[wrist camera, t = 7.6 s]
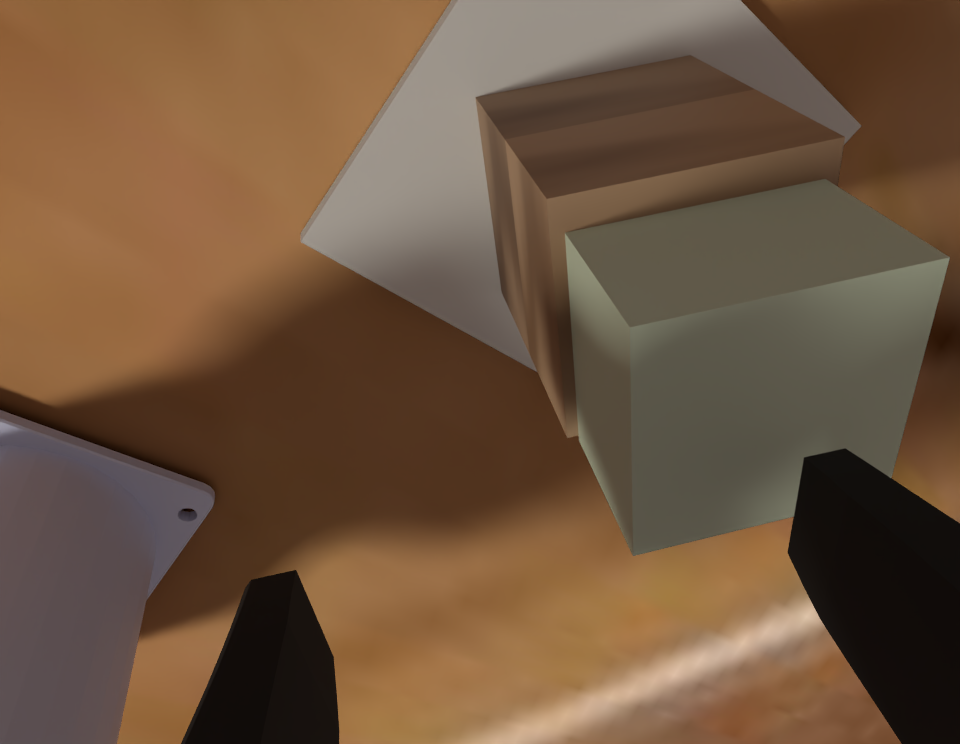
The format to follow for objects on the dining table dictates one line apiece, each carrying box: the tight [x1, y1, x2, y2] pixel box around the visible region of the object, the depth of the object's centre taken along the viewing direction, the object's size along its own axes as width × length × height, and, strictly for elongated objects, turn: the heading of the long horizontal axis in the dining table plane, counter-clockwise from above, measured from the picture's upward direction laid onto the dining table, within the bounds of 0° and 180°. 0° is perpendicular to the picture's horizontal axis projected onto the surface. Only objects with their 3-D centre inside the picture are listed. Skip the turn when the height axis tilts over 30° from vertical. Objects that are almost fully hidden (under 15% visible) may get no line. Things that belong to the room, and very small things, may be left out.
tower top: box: [505, 89, 845, 438], centre depth 15 cm, size 5×5×3 cm
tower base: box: [475, 55, 754, 354], centre depth 17 cm, size 5×5×3 cm
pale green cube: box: [565, 179, 950, 556], centre depth 13 cm, size 4×4×3 cm
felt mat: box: [301, 0, 861, 372], centre depth 19 cm, size 10×10×1 cm
